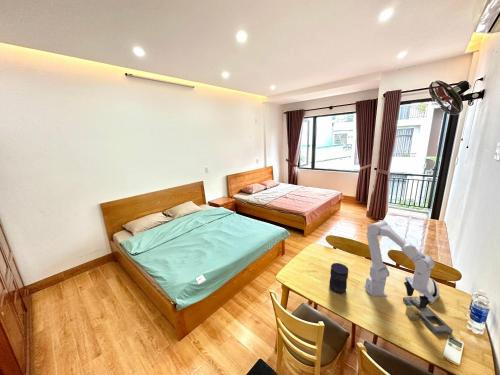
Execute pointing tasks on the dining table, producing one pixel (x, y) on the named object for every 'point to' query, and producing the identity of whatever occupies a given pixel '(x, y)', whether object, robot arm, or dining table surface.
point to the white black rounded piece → (432, 289)
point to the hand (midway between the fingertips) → (415, 301)
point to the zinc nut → (416, 302)
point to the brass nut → (413, 313)
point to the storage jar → (338, 278)
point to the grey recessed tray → (430, 315)
